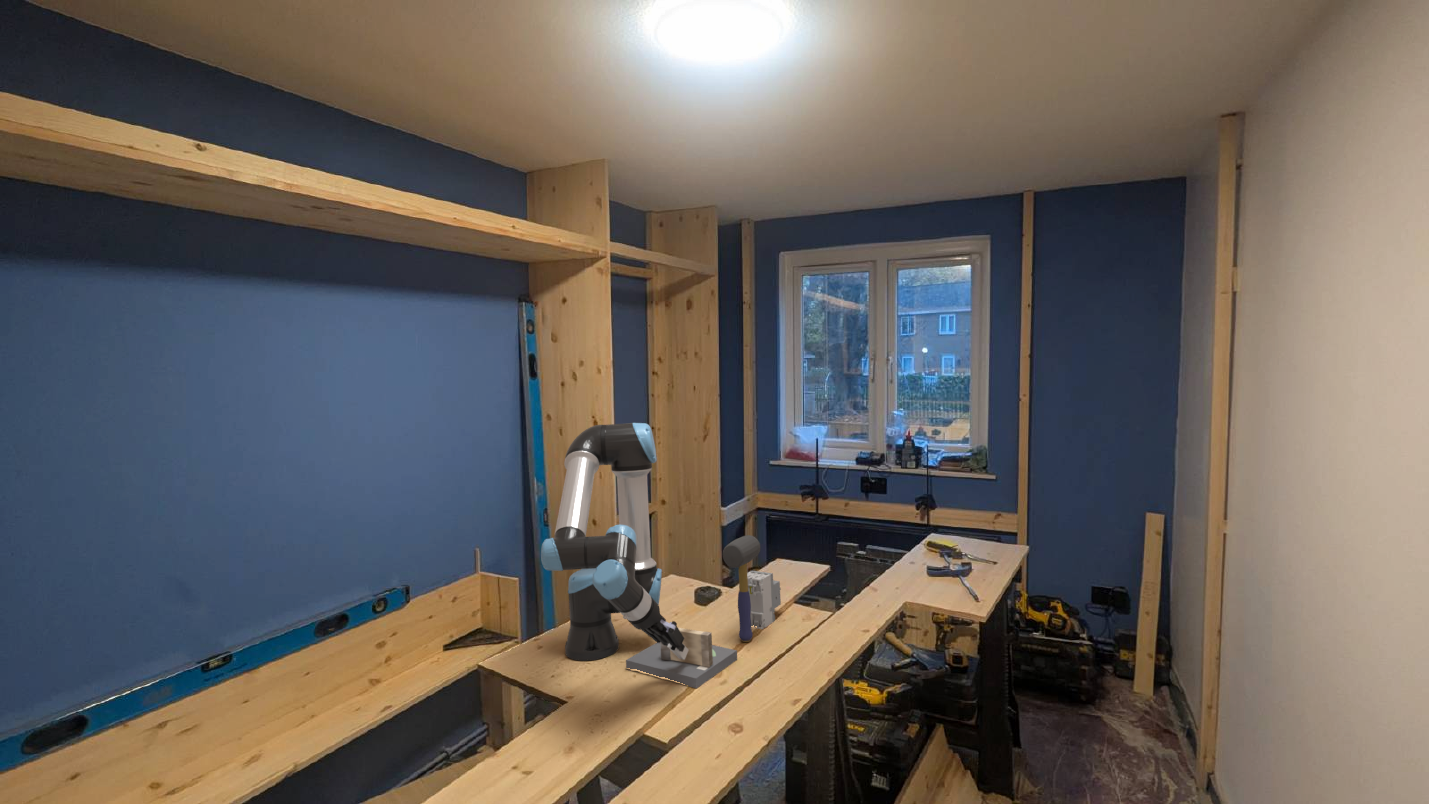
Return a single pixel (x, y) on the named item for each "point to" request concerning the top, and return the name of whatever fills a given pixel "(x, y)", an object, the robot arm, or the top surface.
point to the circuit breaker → (763, 598)
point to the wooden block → (692, 648)
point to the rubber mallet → (742, 578)
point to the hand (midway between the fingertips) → (683, 654)
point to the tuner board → (681, 665)
